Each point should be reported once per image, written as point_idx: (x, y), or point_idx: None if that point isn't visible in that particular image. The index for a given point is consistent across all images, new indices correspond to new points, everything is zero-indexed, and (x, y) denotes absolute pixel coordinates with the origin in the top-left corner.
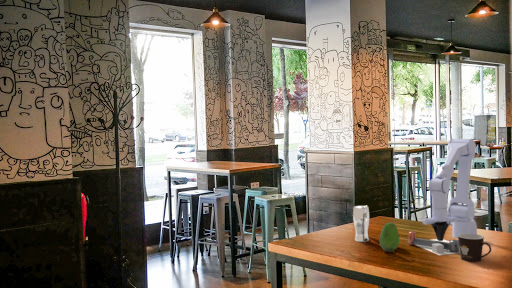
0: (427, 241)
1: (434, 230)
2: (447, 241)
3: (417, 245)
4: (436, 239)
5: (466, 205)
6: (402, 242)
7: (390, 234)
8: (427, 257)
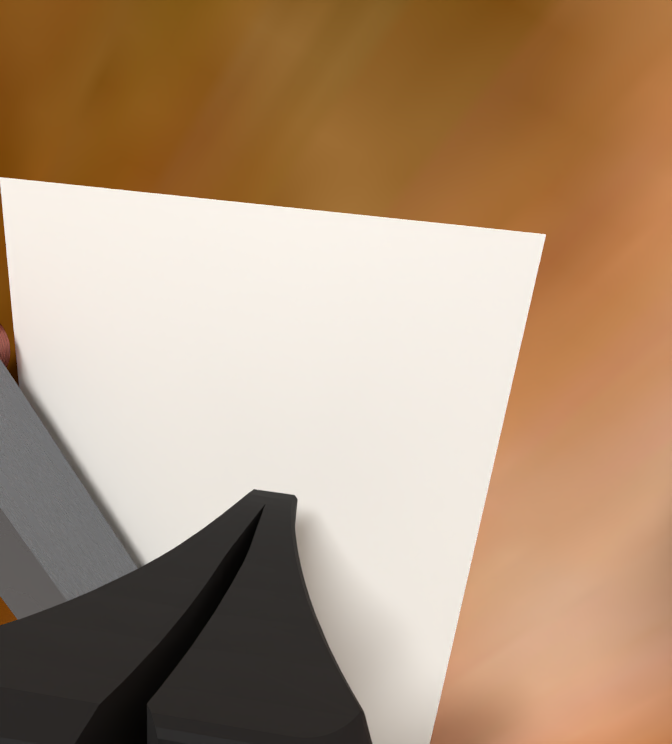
0: (8, 581)
1: (143, 571)
2: (482, 410)
3: (27, 392)
4: (439, 251)
5: None
6: (46, 7)
7: None
8: (14, 620)
